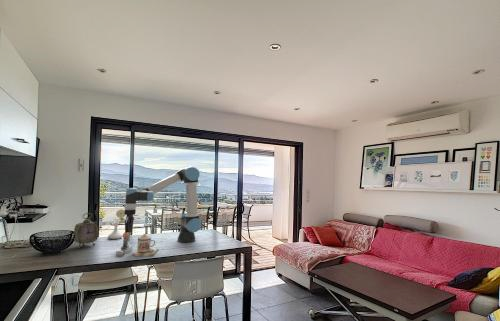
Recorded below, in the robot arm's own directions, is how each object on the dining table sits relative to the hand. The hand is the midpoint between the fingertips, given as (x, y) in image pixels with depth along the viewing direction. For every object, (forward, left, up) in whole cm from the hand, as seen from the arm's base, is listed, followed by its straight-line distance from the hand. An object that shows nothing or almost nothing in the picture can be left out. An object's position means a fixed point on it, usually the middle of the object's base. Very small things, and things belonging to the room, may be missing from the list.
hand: (127, 241), depth 193 cm
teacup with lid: (-15, +6, -5) cm, 17 cm away
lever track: (0, +6, -7) cm, 9 cm away
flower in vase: (+22, -35, -7) cm, 42 cm away
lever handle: (0, +5, -3) cm, 6 cm away
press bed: (-15, +6, -7) cm, 18 cm away
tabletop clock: (+34, -8, -7) cm, 35 cm away
